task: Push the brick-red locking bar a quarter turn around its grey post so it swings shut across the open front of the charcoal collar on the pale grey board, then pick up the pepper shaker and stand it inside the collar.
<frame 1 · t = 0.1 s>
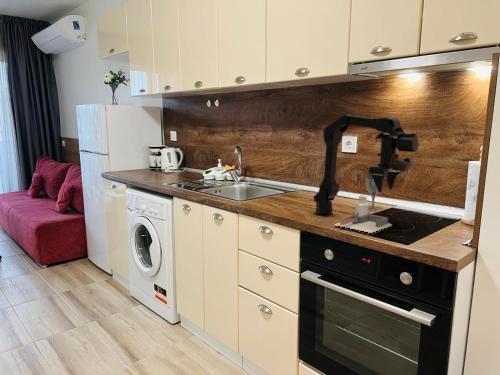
hand: (385, 190, 144), 15 cm above the worktop, tool pointing down, fingers open, 9 cm apart
lock base: (371, 225, 149), on the worktop
pepper shaker: (361, 218, 161), on the worktop
locking bar: (349, 220, 146), point 3 cm above the worktop, hinge at 0.0°
wine glass: (372, 209, 178), on the worktop
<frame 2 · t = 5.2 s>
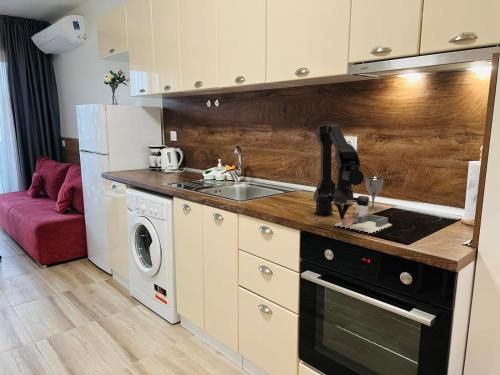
hand: (342, 220, 144), 3 cm above the worktop, tool pointing down, fingers closed
locking bar: (350, 220, 145), point 3 cm above the worktop, hinge at 3.9°, touching gripper
everything else where it was.
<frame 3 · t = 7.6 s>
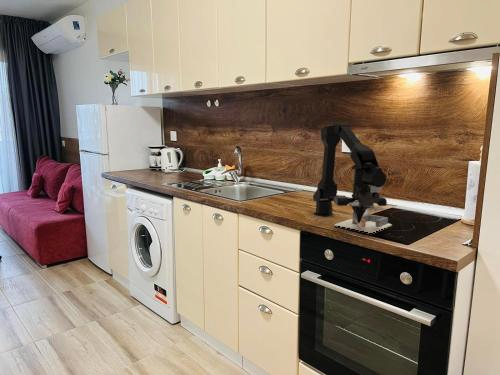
hand: (358, 222, 141), 3 cm above the worktop, tool pointing down, fingers closed
locking bar: (359, 220, 144), point 3 cm above the worktop, hinge at 46.6°, touching gripper
everything else where it was.
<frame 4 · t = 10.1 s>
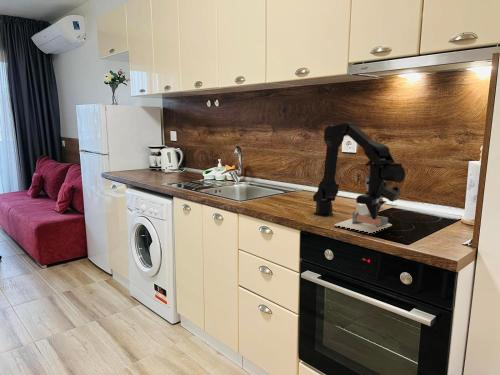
hand: (374, 219, 141), 4 cm above the worktop, tool pointing down, fingers closed
locking bar: (365, 220, 145), point 3 cm above the worktop, hinge at 87.9°
everything else where it was.
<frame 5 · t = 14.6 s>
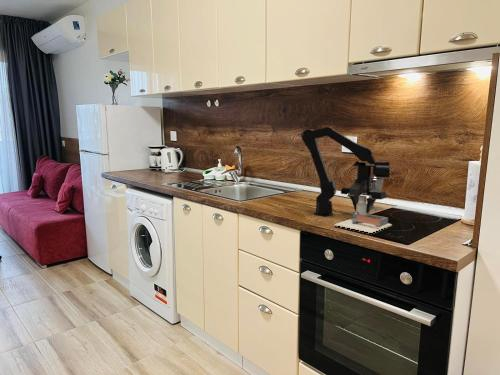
hand: (361, 212, 160), 3 cm above the worktop, tool pointing down, fingers closed on pepper shaker, 5 cm apart
pepper shaker: (361, 218, 161), on the worktop, touching gripper
everything else where it was.
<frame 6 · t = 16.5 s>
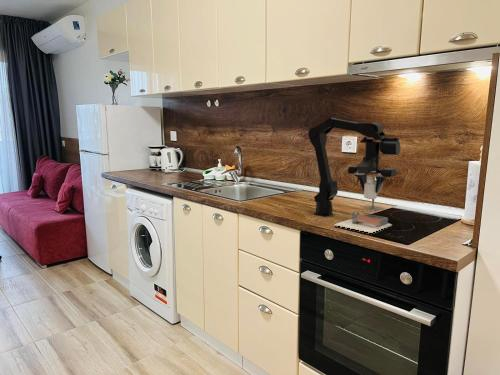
hand: (370, 192, 151), 13 cm above the worktop, tool pointing down, fingers closed on pepper shaker, 5 cm apart
pepper shaker: (370, 198, 152), point 10 cm above the worktop, touching gripper
everything else where it was.
when the fingers open (4 cm above the worktop, at t = 18.8 s): pepper shaker stays where it is, resting on lock base.
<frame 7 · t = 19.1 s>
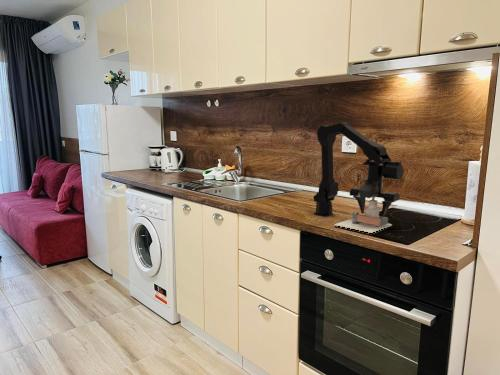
hand: (372, 215, 148), 4 cm above the worktop, tool pointing down, fingers open, 8 cm apart
pepper shaker: (371, 223, 149), resting on lock base
everything else where it was.
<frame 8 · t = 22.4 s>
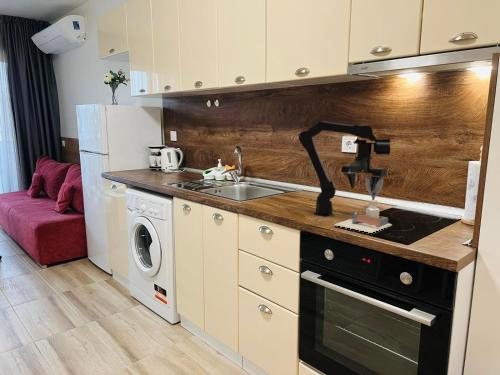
hand: (362, 190, 160), 12 cm above the worktop, tool pointing down, fingers open, 9 cm apart
nothing on the worktop moved.
at the end: locking bar at +88° (first picture: +0°); pepper shaker 0.1 cm off-centre on the lock base, point 0.4 cm above the lock base's base; pepper shaker tilted 0° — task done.
